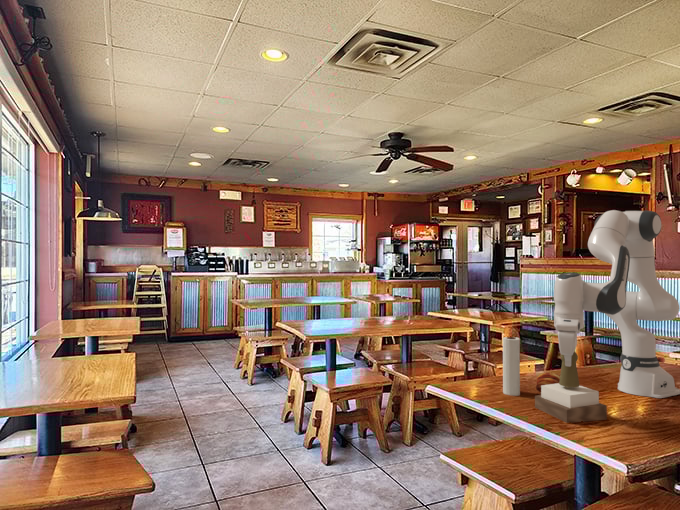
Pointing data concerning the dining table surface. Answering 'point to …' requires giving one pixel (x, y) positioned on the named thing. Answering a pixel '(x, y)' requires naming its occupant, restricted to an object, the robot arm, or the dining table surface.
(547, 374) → the croissant
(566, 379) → the olive green pawn
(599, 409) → the tower base block
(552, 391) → the tower top block
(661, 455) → the dining table surface
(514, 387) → the paper towel roll
